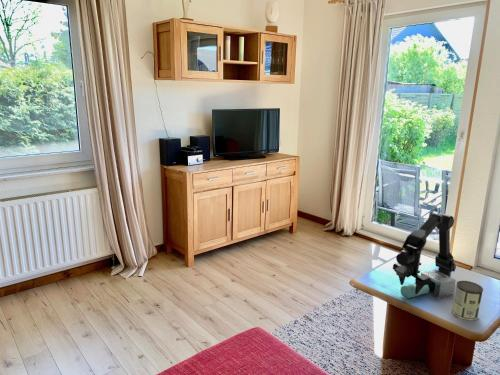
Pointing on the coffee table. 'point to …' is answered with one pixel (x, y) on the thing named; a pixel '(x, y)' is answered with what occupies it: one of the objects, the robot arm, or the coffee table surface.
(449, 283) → the housing
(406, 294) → the pale green cylinder
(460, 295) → the coffee can
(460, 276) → the coffee table surface
